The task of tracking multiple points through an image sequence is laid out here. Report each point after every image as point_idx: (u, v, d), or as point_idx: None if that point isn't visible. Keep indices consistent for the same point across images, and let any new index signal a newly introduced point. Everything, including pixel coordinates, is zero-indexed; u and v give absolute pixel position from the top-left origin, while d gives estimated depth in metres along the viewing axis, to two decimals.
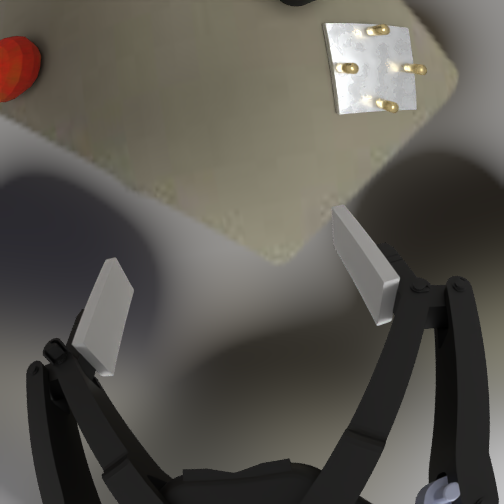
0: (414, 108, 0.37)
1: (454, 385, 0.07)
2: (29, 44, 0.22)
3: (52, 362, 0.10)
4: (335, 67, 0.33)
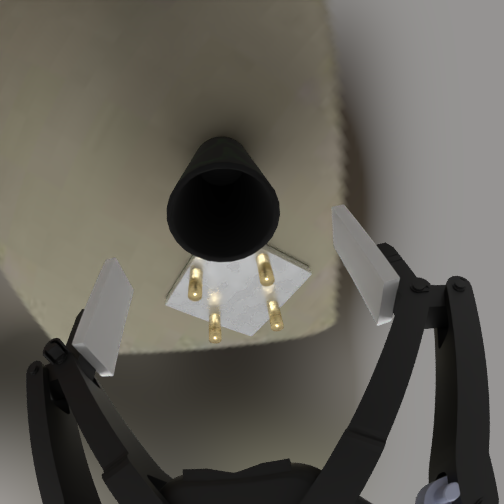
0: (249, 335, 0.43)
1: (454, 384, 0.07)
2: None
3: (52, 362, 0.10)
4: (189, 270, 0.35)
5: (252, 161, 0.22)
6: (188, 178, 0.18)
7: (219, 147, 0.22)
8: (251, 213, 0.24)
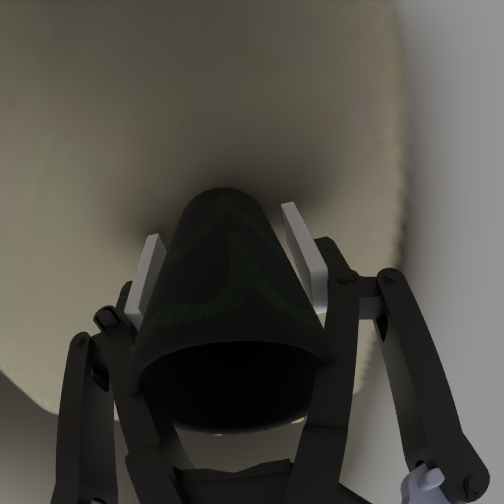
0: None
1: (406, 376, 0.08)
2: None
3: (101, 329, 0.12)
4: None
5: (286, 268, 0.11)
6: (156, 357, 0.07)
7: (221, 234, 0.12)
8: None
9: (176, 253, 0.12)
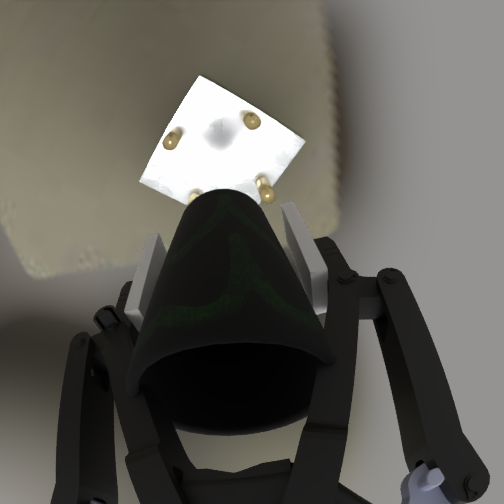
0: None
1: (406, 376, 0.08)
2: None
3: (102, 329, 0.12)
4: (168, 130, 0.29)
5: (286, 269, 0.11)
6: (156, 359, 0.07)
7: (221, 235, 0.12)
8: None
9: (176, 254, 0.12)
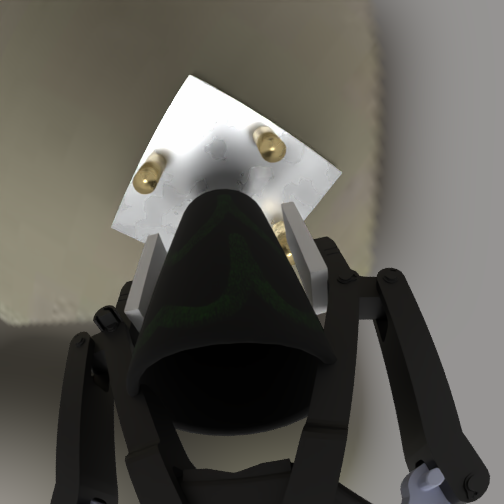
0: None
1: (406, 376, 0.08)
2: None
3: (101, 328, 0.12)
4: (145, 157, 0.20)
5: (286, 270, 0.11)
6: (157, 359, 0.07)
7: (221, 235, 0.12)
8: None
9: (176, 254, 0.12)
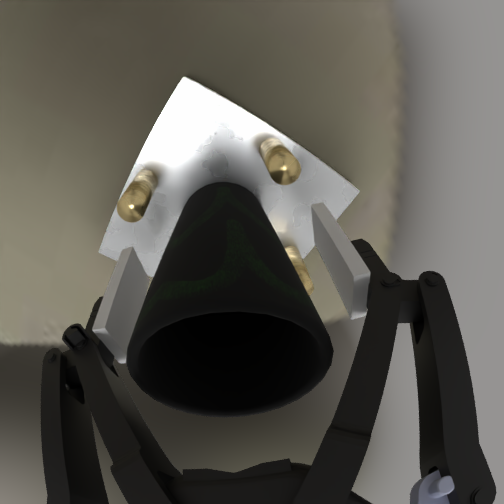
0: None
1: (435, 380, 0.07)
2: None
3: (71, 347, 0.11)
4: (134, 174, 0.17)
5: (280, 253, 0.12)
6: (156, 328, 0.08)
7: (219, 221, 0.13)
8: (274, 326, 0.15)
9: (177, 239, 0.13)
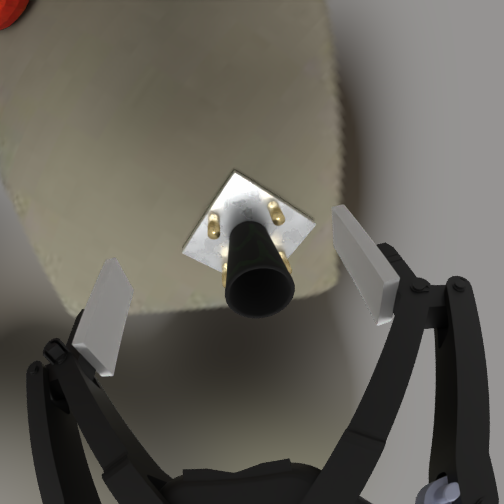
0: None
1: (453, 385, 0.07)
2: None
3: (52, 362, 0.10)
4: (208, 215, 0.39)
5: (276, 253, 0.34)
6: (241, 273, 0.30)
7: (254, 241, 0.35)
8: (274, 283, 0.37)
9: (238, 247, 0.35)
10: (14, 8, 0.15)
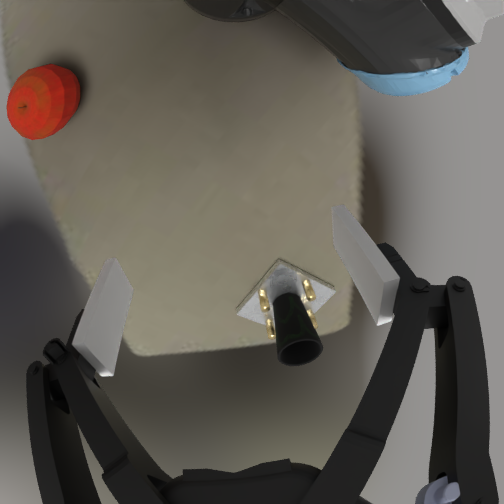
0: None
1: (454, 385, 0.07)
2: (74, 103, 0.28)
3: (52, 362, 0.10)
4: (258, 291, 0.53)
5: (310, 323, 0.48)
6: (290, 344, 0.44)
7: (295, 315, 0.49)
8: (307, 340, 0.51)
9: (284, 320, 0.49)
10: (69, 116, 0.29)
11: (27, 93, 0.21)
